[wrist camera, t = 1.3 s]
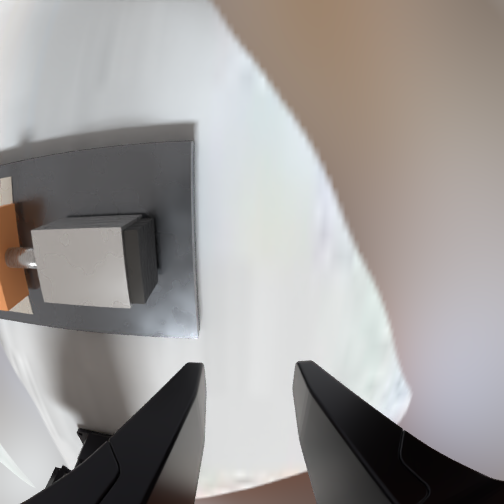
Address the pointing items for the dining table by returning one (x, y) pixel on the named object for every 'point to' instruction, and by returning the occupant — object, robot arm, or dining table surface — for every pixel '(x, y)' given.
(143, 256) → the threaded rod block
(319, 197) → the dining table surface
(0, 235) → the bar
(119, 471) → the robot arm
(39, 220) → the gauge board
